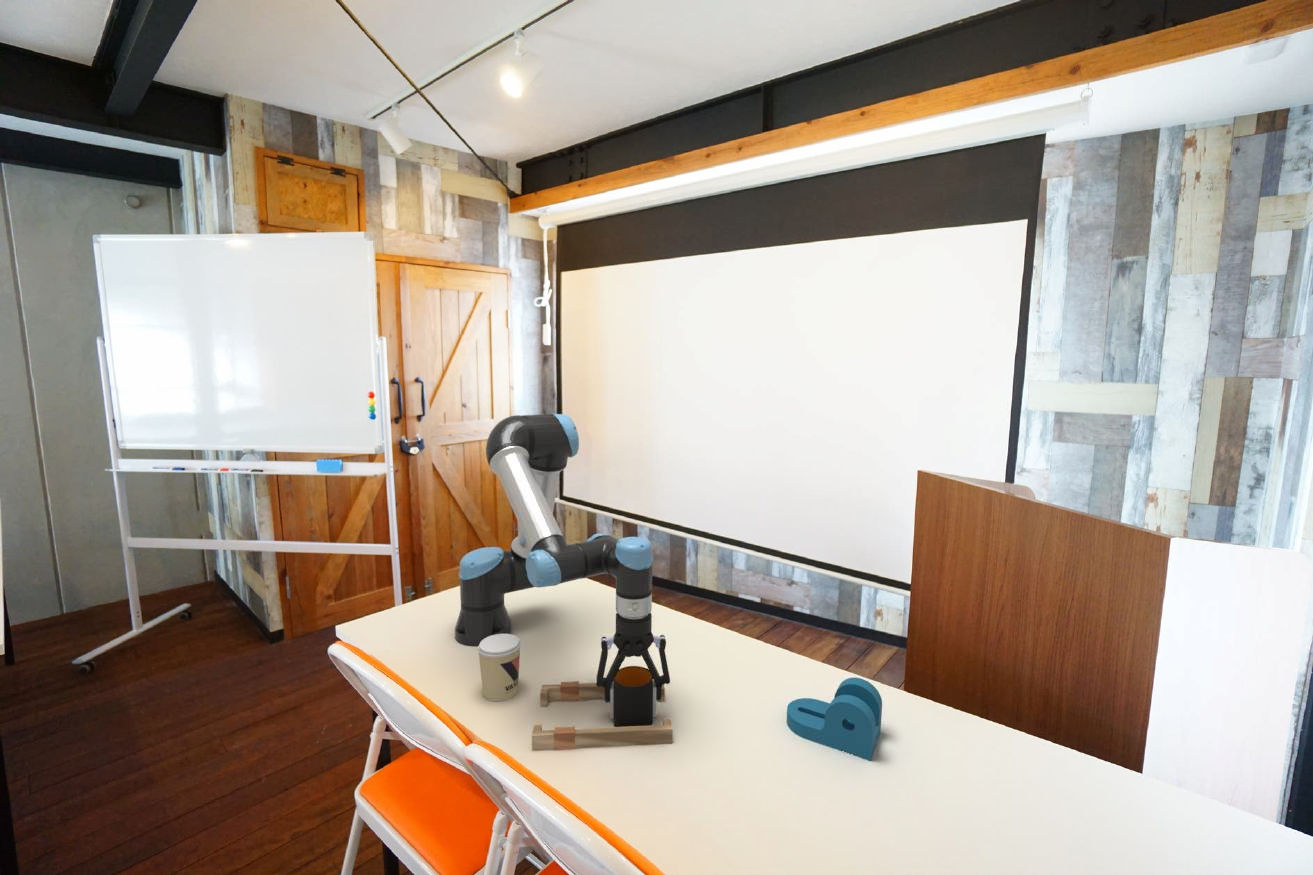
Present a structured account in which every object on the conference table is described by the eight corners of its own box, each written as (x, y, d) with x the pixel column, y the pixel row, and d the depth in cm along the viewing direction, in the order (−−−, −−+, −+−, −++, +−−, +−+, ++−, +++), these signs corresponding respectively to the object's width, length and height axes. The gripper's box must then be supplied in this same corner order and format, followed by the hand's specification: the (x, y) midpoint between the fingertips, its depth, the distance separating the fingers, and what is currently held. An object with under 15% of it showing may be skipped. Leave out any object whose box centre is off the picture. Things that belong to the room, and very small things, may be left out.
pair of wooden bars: (542, 696, 129) (542, 682, 128) (662, 691, 131) (663, 677, 131) (532, 750, 111) (531, 734, 110) (672, 743, 113) (672, 727, 113)
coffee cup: (510, 706, 125) (509, 654, 124) (471, 700, 127) (469, 649, 126) (528, 683, 134) (527, 635, 133) (491, 678, 136) (490, 631, 135)
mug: (665, 706, 125) (666, 662, 124) (642, 738, 114) (642, 690, 113) (632, 697, 129) (632, 654, 127) (606, 728, 118) (606, 681, 117)
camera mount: (880, 732, 118) (883, 684, 116) (870, 761, 109) (873, 710, 107) (795, 705, 127) (796, 660, 126) (779, 730, 118) (781, 683, 117)
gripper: (582, 621, 114) (582, 727, 117) (686, 618, 116) (684, 722, 119) (583, 606, 122) (583, 705, 124) (681, 603, 123) (679, 701, 126)
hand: (632, 713), depth 121 cm, fingers closed on mug, 8 cm apart
